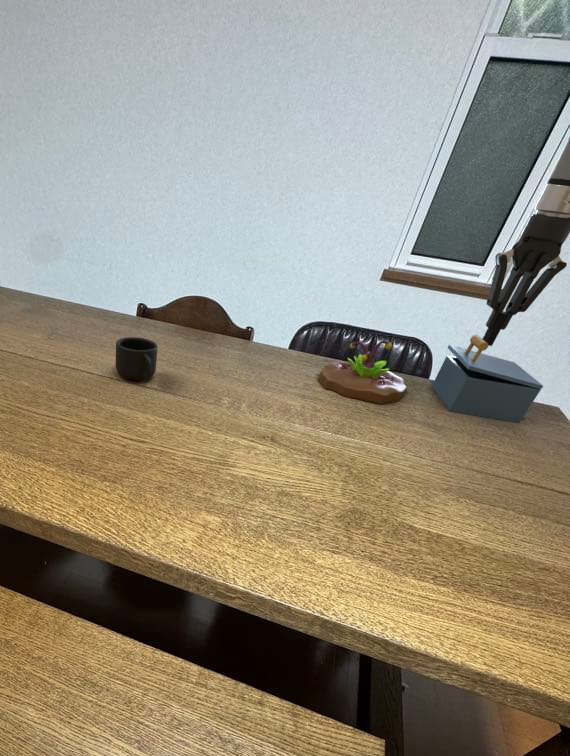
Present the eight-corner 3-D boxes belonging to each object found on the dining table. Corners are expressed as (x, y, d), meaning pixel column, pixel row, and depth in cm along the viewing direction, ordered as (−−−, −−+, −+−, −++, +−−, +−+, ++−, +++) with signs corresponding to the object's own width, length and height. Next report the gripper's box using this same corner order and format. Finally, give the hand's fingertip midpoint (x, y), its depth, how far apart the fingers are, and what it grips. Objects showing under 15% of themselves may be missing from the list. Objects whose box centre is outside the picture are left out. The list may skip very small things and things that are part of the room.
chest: (449, 411, 104) (467, 377, 99) (431, 386, 116) (446, 355, 111) (519, 422, 103) (541, 389, 98) (494, 396, 115) (512, 365, 110)
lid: (467, 369, 98) (482, 346, 95) (447, 347, 110) (459, 326, 106) (541, 389, 98) (558, 366, 94) (512, 365, 110) (527, 344, 106)
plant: (394, 411, 101) (417, 360, 93) (310, 386, 107) (326, 337, 100) (408, 386, 114) (429, 340, 107) (333, 365, 121) (348, 320, 114)
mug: (109, 370, 103) (109, 337, 98) (145, 367, 106) (147, 336, 102) (129, 391, 95) (130, 357, 90) (167, 387, 98) (170, 354, 94)
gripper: (527, 212, 83) (461, 344, 99) (601, 221, 82) (523, 353, 98) (511, 209, 89) (451, 334, 104) (580, 217, 88) (509, 343, 103)
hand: (486, 343), depth 101 cm, fingers closed
